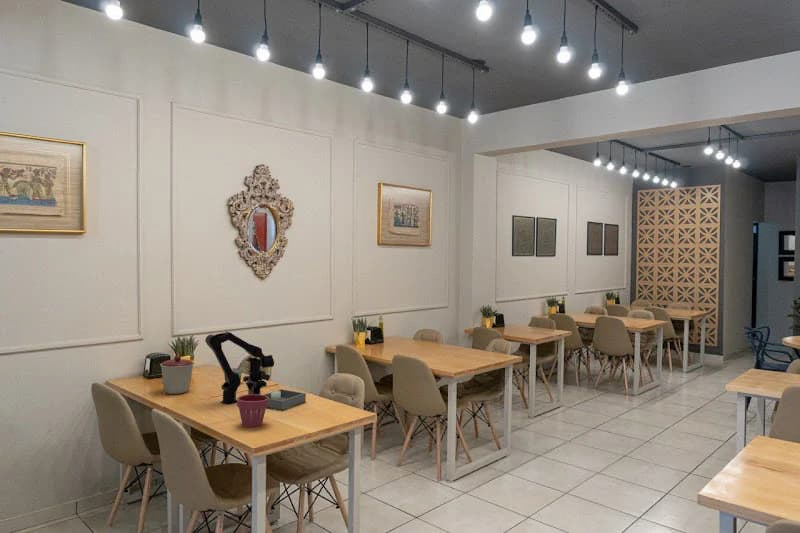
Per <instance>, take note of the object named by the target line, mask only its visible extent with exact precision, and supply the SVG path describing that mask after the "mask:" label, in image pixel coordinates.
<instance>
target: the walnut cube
mask: <svg viewBox="0 0 800 533" xmlns="http://www.w3.org/2000/svg"><path fill="white" fill-rule="evenodd" d="M247 392H248V393H247V395H250V394H254V392H253V389H248V388H247ZM261 392H262V391H261V389H260V391H259V395H261Z"/></svg>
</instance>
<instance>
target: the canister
mask: <svg viewBox="0 0 800 533" xmlns="http://www.w3.org/2000/svg"><path fill="white" fill-rule="evenodd" d="M181 358H182V357H181V356H180V355H176V356H174V359H169V360H165V361H163V362H162V363H160V364H159V366H160V367H161V375H162V385H163V386H162V387H163V390H164V392H165V393H166V394H169V395H179V394H180V395H181V394H185V393H187V392H188V391H189V390H190V388H191V382H192V377H193V376H192V374H193V368H194V365H195V362H194V361H192V360H190V359H185V358H184V359H183V358H182V359H181Z"/></svg>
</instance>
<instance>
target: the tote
mask: <svg viewBox="0 0 800 533" xmlns="http://www.w3.org/2000/svg"><path fill="white" fill-rule="evenodd" d="M276 391H281V400H275V399H271V391H270V392H267V393H264V394H263V395H265V396H267V397H268V406H267V407H266V409H270V410H274V409H276V411H279V410H281V411H280V412H283V410H284V411H286V410H289V409H292V408H294V407H297V406H299V404H300V405H302V404H304V402H305V403H306V402H307V401H306V400H307V399H306V398H307V393H305V392H302V391H294V390H288V389H283V388H281V389H276ZM296 405H297V406H296ZM293 406H294V407H293ZM291 407H292V408H291ZM288 408H289V409H288ZM285 409H286V410H285Z"/></svg>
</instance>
